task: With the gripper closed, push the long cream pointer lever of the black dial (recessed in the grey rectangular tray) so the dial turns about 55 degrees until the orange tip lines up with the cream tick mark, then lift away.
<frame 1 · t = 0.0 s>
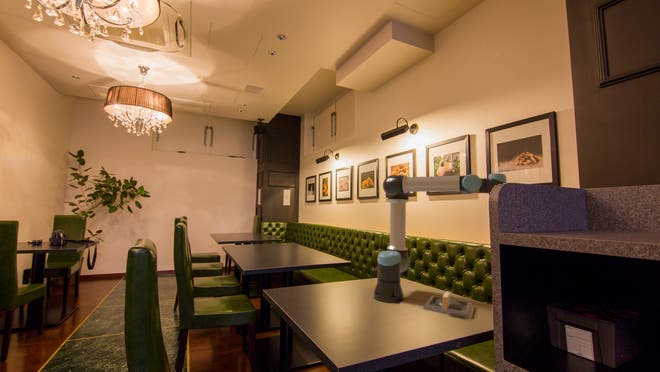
hand: (498, 250, 136), 28 cm above the table, fingers open, 13 cm apart
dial: (447, 301, 129), point 5 cm above the table, hinge at 0.0°
grey rectangular tray: (448, 310, 131), on the table
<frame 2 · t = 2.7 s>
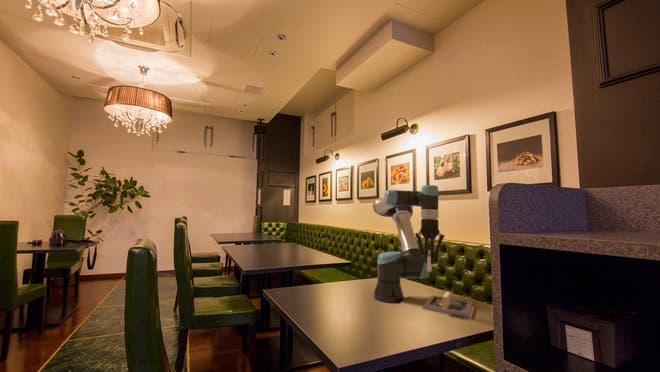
hand: (429, 270, 129), 18 cm above the table, fingers closed
nothing on the table moved.
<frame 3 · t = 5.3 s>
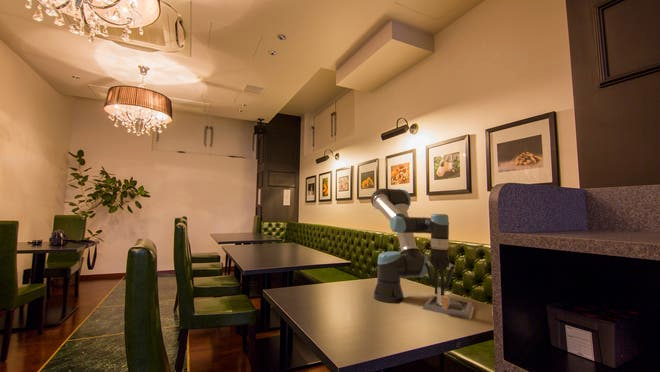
hand: (439, 302, 126), 5 cm above the table, fingers closed
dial: (447, 301, 129), point 5 cm above the table, hinge at 0.1°, touching gripper
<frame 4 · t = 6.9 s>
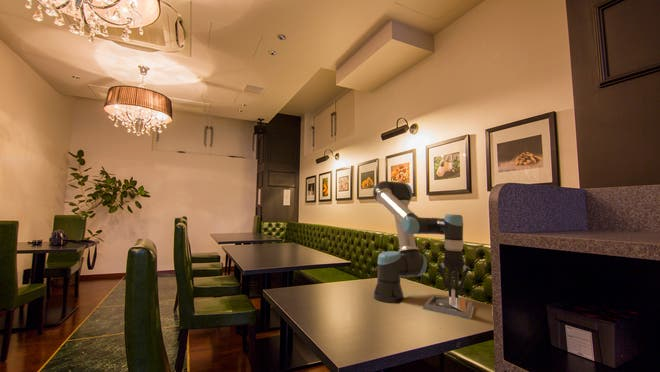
hand: (453, 305, 123), 5 cm above the table, fingers closed
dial: (452, 301, 129), point 5 cm above the table, hinge at 39.1°, touching gripper
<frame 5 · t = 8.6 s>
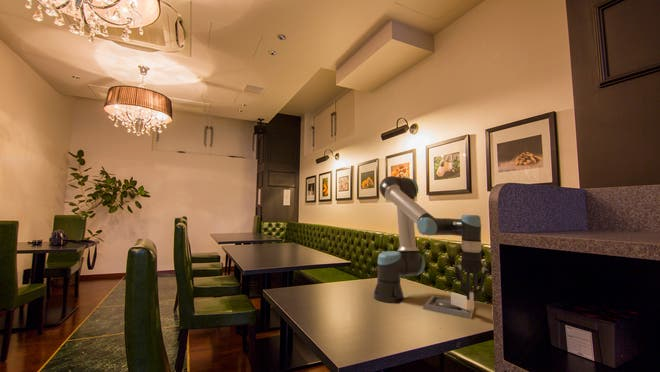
hand: (471, 308, 119), 5 cm above the table, fingers closed
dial: (454, 301, 129), point 5 cm above the table, hinge at 59.5°
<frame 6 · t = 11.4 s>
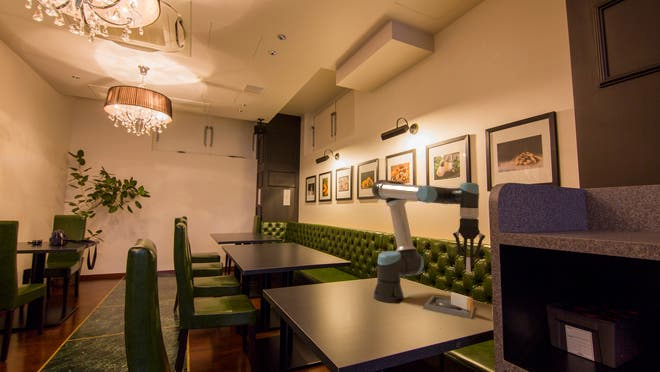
hand: (468, 272, 124), 19 cm above the table, fingers closed
nothing on the table moved.
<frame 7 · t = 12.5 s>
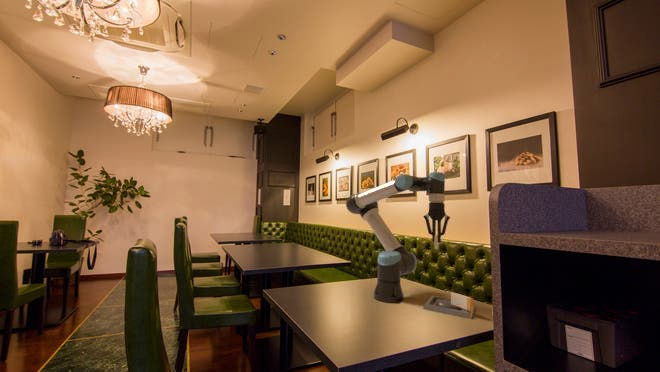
hand: (436, 248, 145), 26 cm above the table, fingers closed
nothing on the table moved.
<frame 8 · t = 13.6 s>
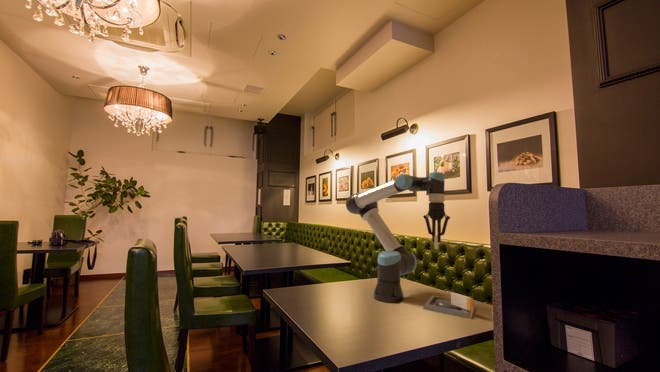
hand: (436, 248, 145), 26 cm above the table, fingers closed
nothing on the table moved.
at the end: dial at +60° (first picture: +0°); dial touching nothing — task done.
